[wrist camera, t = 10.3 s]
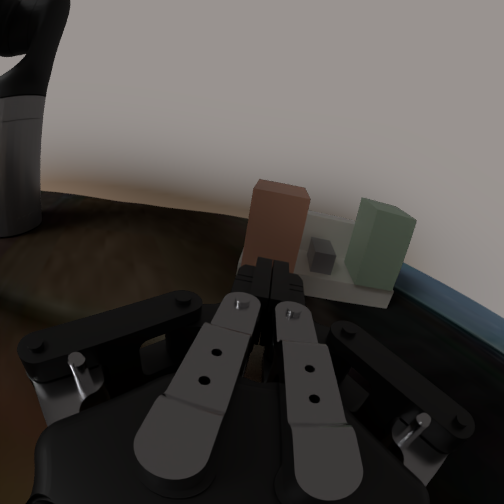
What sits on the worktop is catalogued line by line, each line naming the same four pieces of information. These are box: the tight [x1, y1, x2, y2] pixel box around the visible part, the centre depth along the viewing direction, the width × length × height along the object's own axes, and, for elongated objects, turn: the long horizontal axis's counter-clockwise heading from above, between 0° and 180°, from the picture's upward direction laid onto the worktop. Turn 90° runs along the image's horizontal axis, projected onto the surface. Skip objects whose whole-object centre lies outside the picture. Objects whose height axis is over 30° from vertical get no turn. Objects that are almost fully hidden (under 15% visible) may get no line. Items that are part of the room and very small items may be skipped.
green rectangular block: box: [344, 198, 416, 291], centre depth 24 cm, size 4×5×7 cm
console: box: [236, 210, 394, 309], centre depth 28 cm, size 15×8×6 cm, turn 83°
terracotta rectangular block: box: [241, 179, 310, 273], centre depth 23 cm, size 4×5×7 cm
